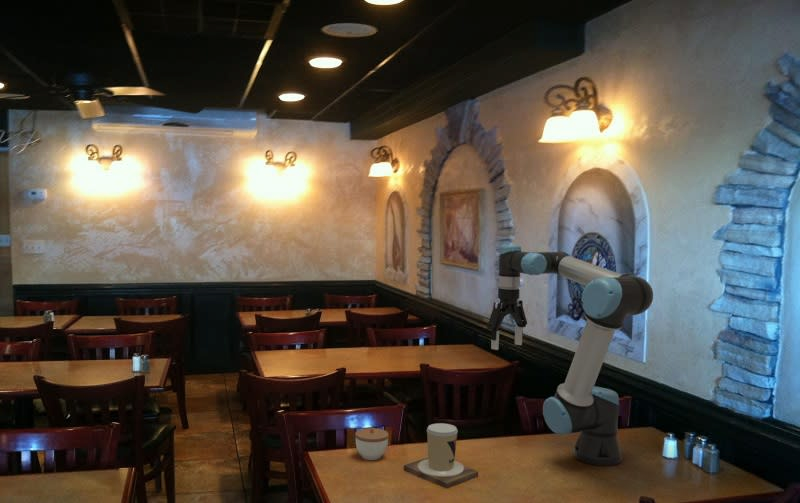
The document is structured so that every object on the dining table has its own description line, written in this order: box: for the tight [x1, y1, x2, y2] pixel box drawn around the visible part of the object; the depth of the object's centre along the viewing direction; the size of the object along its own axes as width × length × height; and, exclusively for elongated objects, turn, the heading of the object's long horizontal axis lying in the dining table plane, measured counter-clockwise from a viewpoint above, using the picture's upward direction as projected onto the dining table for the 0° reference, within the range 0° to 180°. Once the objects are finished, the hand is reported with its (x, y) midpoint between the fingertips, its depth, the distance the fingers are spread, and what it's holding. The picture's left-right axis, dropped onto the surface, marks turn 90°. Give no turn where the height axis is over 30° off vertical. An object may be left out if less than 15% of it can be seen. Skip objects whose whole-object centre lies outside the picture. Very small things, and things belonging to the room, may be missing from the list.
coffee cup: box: [426, 422, 459, 471], centre depth 213 cm, size 9×9×12 cm
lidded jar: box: [355, 427, 389, 461], centre depth 225 cm, size 11×11×9 cm
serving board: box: [403, 457, 479, 489], centre depth 213 cm, size 18×14×2 cm
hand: (506, 347), depth 250 cm, fingers open, 13 cm apart
